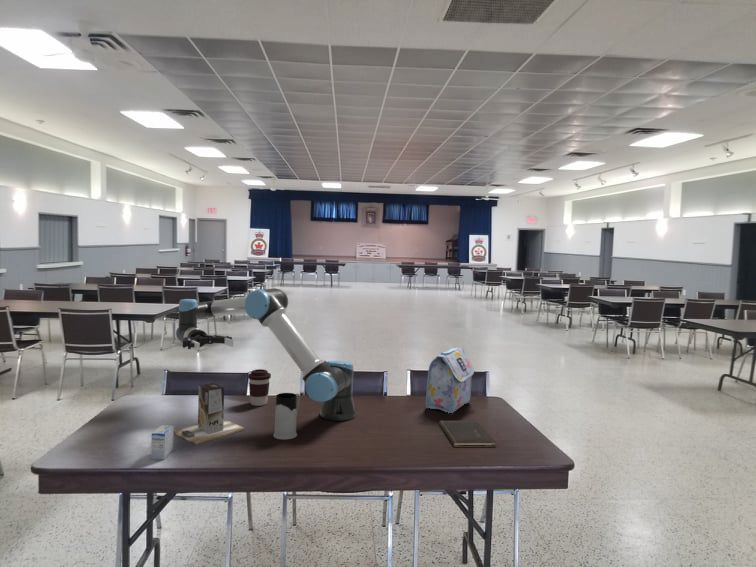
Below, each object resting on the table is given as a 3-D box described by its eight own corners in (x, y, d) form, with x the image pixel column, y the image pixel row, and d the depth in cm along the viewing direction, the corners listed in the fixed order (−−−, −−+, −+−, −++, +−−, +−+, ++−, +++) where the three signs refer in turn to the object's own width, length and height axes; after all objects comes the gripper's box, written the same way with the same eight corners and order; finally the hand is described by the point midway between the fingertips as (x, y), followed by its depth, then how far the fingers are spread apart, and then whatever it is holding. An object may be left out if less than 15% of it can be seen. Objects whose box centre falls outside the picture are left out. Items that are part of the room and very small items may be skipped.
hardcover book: (476, 426, 197) (476, 420, 197) (495, 448, 174) (496, 441, 174) (438, 425, 195) (439, 420, 195) (453, 448, 172) (453, 441, 172)
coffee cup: (274, 403, 215) (275, 370, 214) (258, 408, 207) (259, 374, 206) (259, 399, 220) (260, 367, 220) (242, 404, 212) (243, 371, 211)
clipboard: (244, 430, 181) (244, 425, 180) (196, 444, 165) (196, 439, 165) (220, 419, 191) (220, 415, 190) (172, 432, 175) (172, 428, 175)
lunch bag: (457, 416, 207) (460, 356, 205) (422, 408, 215) (425, 351, 214) (475, 404, 226) (478, 349, 224) (443, 397, 235) (445, 344, 233)
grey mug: (268, 437, 174) (269, 396, 174) (288, 425, 188) (289, 387, 187) (289, 441, 172) (290, 400, 171) (308, 428, 185) (309, 390, 184)
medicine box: (159, 450, 159) (160, 424, 159) (173, 450, 160) (174, 424, 159) (150, 460, 151) (151, 433, 151) (165, 460, 152) (165, 433, 151)
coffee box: (224, 430, 177) (225, 387, 176) (207, 434, 173) (208, 390, 172) (213, 423, 184) (213, 382, 183) (196, 427, 179) (197, 385, 178)
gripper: (223, 343, 211) (245, 351, 195) (165, 349, 195) (183, 357, 179) (224, 326, 211) (245, 333, 195) (165, 331, 194) (183, 338, 178)
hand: (215, 344), depth 187 cm, fingers open, 13 cm apart
